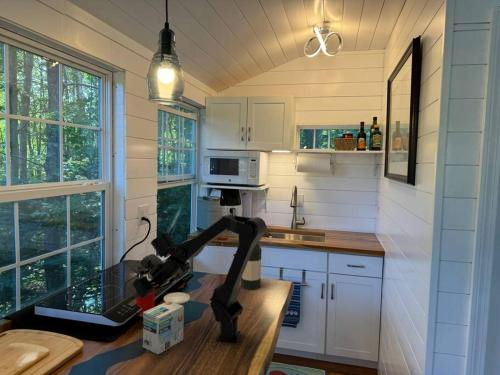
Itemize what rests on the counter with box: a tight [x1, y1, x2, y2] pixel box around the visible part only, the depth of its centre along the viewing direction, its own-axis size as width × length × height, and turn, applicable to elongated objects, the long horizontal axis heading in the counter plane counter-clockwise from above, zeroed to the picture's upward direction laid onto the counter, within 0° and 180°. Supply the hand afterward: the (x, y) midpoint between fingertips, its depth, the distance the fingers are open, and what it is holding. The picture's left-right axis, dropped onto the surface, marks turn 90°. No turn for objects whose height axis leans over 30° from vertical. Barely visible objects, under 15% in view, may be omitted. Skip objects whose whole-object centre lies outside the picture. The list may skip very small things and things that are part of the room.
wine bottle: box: [240, 242, 263, 291], centre depth 153 cm, size 8×8×30 cm
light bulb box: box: [142, 301, 185, 355], centre depth 105 cm, size 11×7×11 cm, turn 148°
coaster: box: [163, 292, 191, 305], centre depth 138 cm, size 10×10×1 cm
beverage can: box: [135, 278, 155, 317], centre depth 124 cm, size 6×6×12 cm
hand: (143, 293), depth 124 cm, fingers open, 9 cm apart
